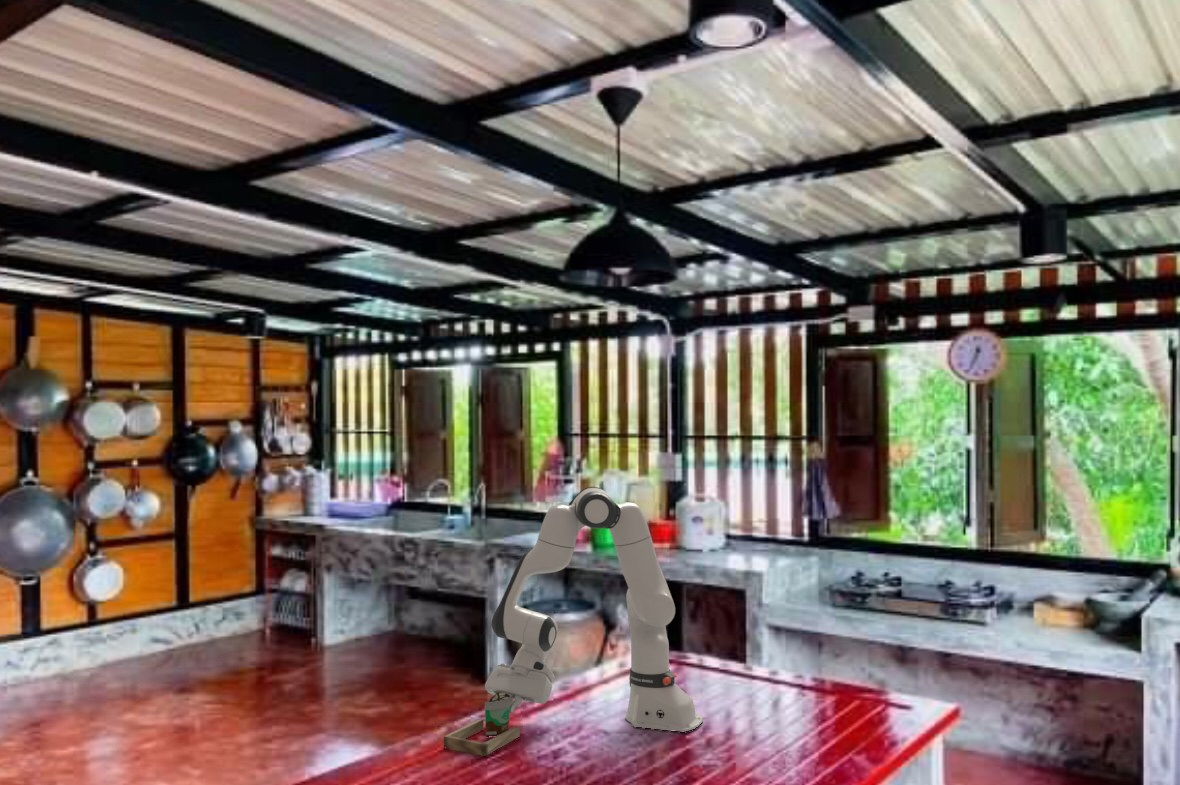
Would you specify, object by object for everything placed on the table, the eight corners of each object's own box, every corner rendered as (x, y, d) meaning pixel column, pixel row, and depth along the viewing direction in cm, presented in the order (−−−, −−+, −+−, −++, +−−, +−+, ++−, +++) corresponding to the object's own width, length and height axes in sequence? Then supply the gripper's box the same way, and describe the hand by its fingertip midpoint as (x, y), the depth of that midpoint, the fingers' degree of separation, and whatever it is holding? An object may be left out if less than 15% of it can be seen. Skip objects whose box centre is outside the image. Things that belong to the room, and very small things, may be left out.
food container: (506, 740, 247) (506, 703, 247) (484, 739, 248) (484, 702, 248) (517, 725, 259) (517, 690, 259) (496, 724, 260) (496, 689, 260)
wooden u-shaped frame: (519, 737, 249) (519, 726, 249) (484, 757, 235) (484, 745, 235) (479, 729, 255) (479, 718, 256) (443, 747, 241) (443, 736, 241)
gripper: (493, 657, 268) (472, 699, 259) (551, 666, 258) (532, 711, 249) (501, 668, 272) (482, 710, 263) (559, 678, 262) (541, 722, 253)
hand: (507, 711), depth 256 cm, fingers closed
